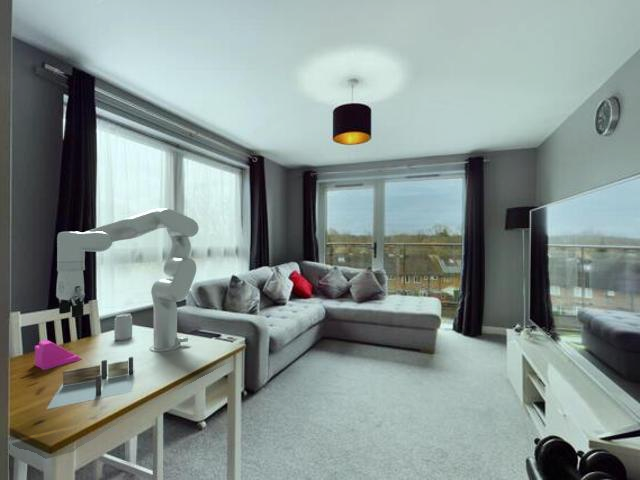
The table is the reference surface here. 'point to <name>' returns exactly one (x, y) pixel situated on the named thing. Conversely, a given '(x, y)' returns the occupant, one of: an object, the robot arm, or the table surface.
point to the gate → (80, 375)
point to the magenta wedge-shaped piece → (52, 355)
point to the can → (123, 326)
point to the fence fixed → (113, 371)
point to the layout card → (91, 390)
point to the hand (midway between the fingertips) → (71, 314)
